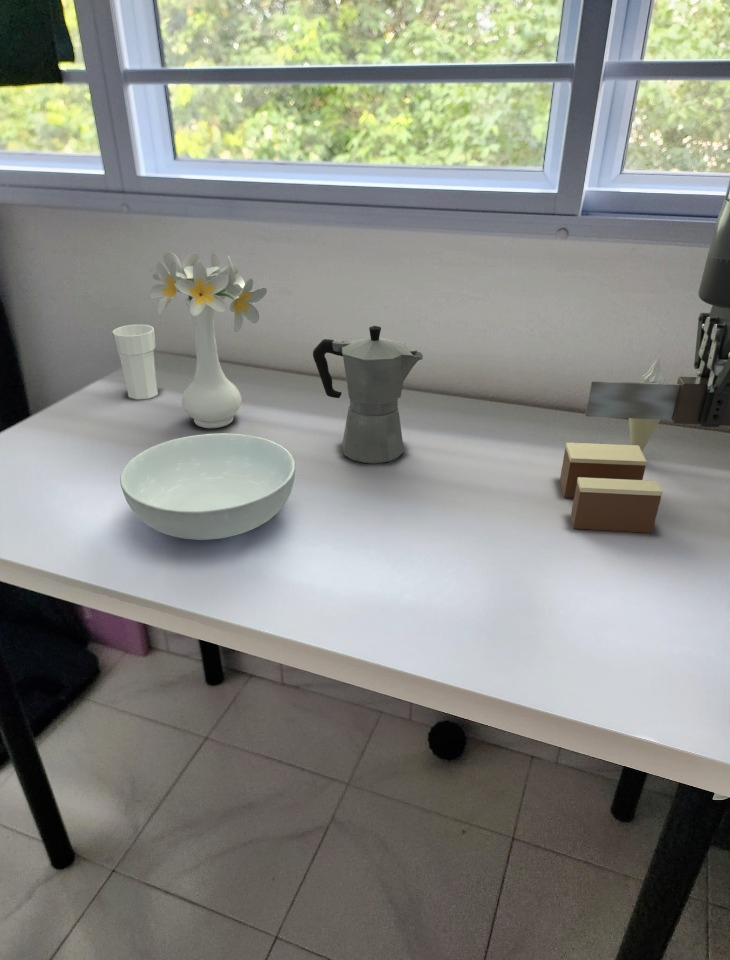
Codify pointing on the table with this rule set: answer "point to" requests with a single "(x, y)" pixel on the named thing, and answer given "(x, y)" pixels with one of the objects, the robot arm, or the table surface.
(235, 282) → the flower vase
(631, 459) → the cake
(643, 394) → the knife
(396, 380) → the coffeepot
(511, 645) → the table surface
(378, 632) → the table surface
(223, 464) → the serving bowl
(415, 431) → the table surface
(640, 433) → the ice cream cone
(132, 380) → the cup
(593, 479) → the cake slice
